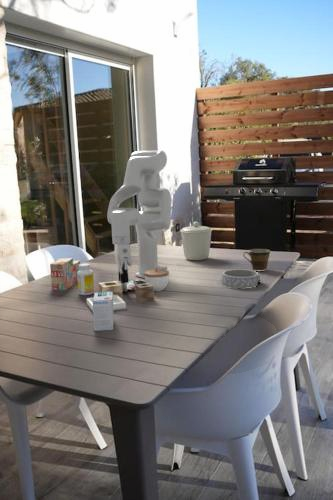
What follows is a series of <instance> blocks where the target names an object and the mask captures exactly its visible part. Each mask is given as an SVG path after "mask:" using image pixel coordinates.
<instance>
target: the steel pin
mask: <svg viewBox="0 0 333 500" xmlns="http://www.w3.org/2000/svg"><path fill="white" fill-rule="evenodd" d="M122 265H123V264H122ZM123 266H124V265H123ZM123 269H124V268H123ZM120 279H121V267H120ZM127 283H128V282H127ZM127 283H121V282H120V284H121V285H122V293H123V292H128V284H127Z"/></svg>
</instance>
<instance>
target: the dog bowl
mask: <svg viewBox="0 0 333 500" xmlns="http://www.w3.org/2000/svg"><path fill="white" fill-rule="evenodd" d="M221 274H222V275H221V278H220V282H219V284H220V283H221V285H223V286H226V287H231V288H230V289H232V288H246V287H254V286H257V287H258V283H260V282H261V283H262V281H261V278H260V272H256V271H253V269H247V268H235V269H234V268H233V269H227V270H224V271H223V272H222V273H221ZM258 281H260V282H258ZM221 285H220V286H221ZM223 286H222V287H223ZM226 287H225V288H226Z"/></svg>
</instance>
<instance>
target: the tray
mask: <svg viewBox="0 0 333 500" xmlns="http://www.w3.org/2000/svg"><path fill="white" fill-rule="evenodd" d="M93 298H94V297H88V298H86V299H85V300H86V305H87V307H88V308H89V309H90V310H91V311H92V313H93ZM125 309H127V304H126V301H124V299H121V298H120V297H119V296H118V295H113V311H121V310H125Z"/></svg>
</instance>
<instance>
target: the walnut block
mask: <svg viewBox="0 0 333 500" xmlns="http://www.w3.org/2000/svg"><path fill="white" fill-rule="evenodd" d="M134 289H135V290H134V293H135V299H136V300H137V301H138V302H139V303H144V302H150V301H151V302H152V301H155V291H154V286H153V285H151V284H150V283H146V282H145V283H136V284H134Z"/></svg>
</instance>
